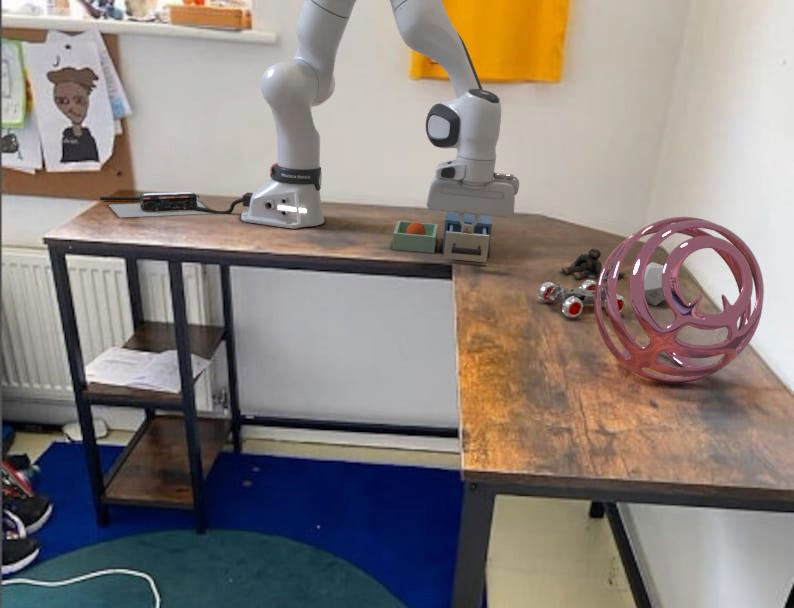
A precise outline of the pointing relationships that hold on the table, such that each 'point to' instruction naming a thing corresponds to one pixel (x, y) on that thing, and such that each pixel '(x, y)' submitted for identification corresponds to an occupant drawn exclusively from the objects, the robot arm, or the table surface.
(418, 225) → the ball
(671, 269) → the pink openwork sphere
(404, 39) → the robot arm
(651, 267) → the grey faceted block
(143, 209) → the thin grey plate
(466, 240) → the drawer
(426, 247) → the tote
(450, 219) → the cabinet
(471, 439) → the table surface
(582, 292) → the toy car
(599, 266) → the stuffed animal
